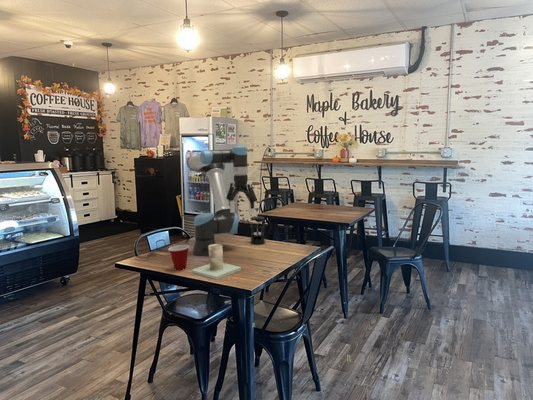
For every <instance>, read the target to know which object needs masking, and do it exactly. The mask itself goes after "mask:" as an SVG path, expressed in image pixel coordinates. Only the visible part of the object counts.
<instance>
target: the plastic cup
mask: <svg viewBox="0 0 533 400" xmlns="http://www.w3.org/2000/svg"><path fill="white" fill-rule="evenodd" d="M189 248H190V245H188V244H177V245H174V246H173V245H172V246H170V247H169V248H168V252H169V254H170V256H171V260H172V264H173V268H174V270H175V269H176V270H175V271H177V270H180V271H184V270H183V269H185V268H187V263H188V254H189ZM185 270H186V269H185Z"/></svg>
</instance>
